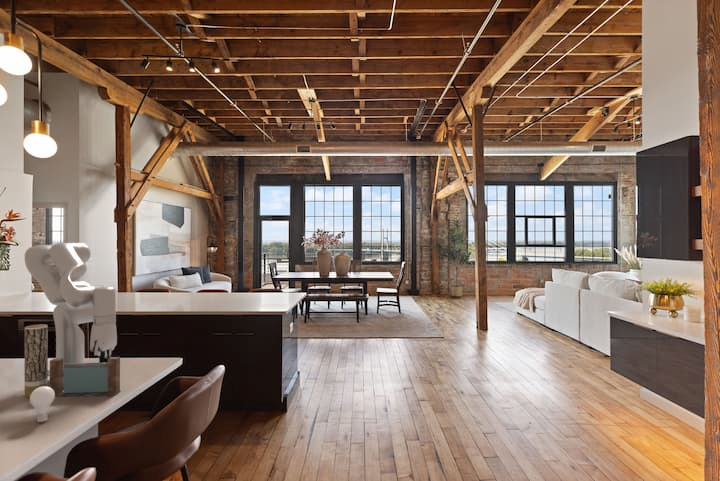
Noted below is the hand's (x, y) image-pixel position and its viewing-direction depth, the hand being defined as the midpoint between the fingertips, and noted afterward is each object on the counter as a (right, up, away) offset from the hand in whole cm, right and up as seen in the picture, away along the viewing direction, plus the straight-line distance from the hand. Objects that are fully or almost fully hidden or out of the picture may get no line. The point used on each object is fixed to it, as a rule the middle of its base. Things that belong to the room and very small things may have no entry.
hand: (104, 368), depth 169 cm
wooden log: (-21, -8, -7) cm, 23 cm away
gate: (-3, -7, -6) cm, 10 cm away
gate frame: (-4, -8, -6) cm, 11 cm away
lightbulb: (-1, -8, -31) cm, 32 cm away
